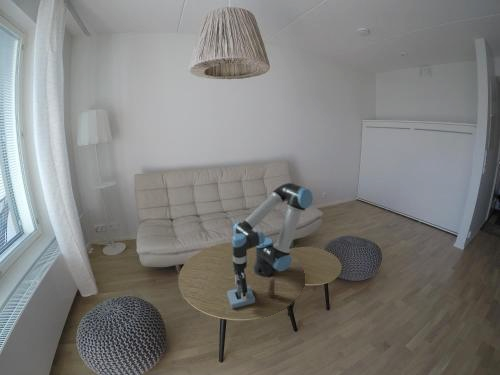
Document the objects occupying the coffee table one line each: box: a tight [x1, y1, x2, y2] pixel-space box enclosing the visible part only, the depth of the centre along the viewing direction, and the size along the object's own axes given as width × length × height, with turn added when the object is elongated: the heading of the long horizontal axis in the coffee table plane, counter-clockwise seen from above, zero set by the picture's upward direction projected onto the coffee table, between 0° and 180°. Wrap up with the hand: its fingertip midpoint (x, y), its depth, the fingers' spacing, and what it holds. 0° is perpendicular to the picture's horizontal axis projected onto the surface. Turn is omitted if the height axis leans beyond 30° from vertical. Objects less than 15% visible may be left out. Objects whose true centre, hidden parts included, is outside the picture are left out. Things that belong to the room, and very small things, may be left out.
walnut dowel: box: [267, 276, 276, 299], centre depth 141 cm, size 4×4×12 cm
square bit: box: [235, 280, 242, 300], centre depth 139 cm, size 4×4×12 cm
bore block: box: [226, 285, 256, 310], centre depth 141 cm, size 14×11×3 cm
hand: (240, 291), depth 139 cm, fingers open, 13 cm apart
